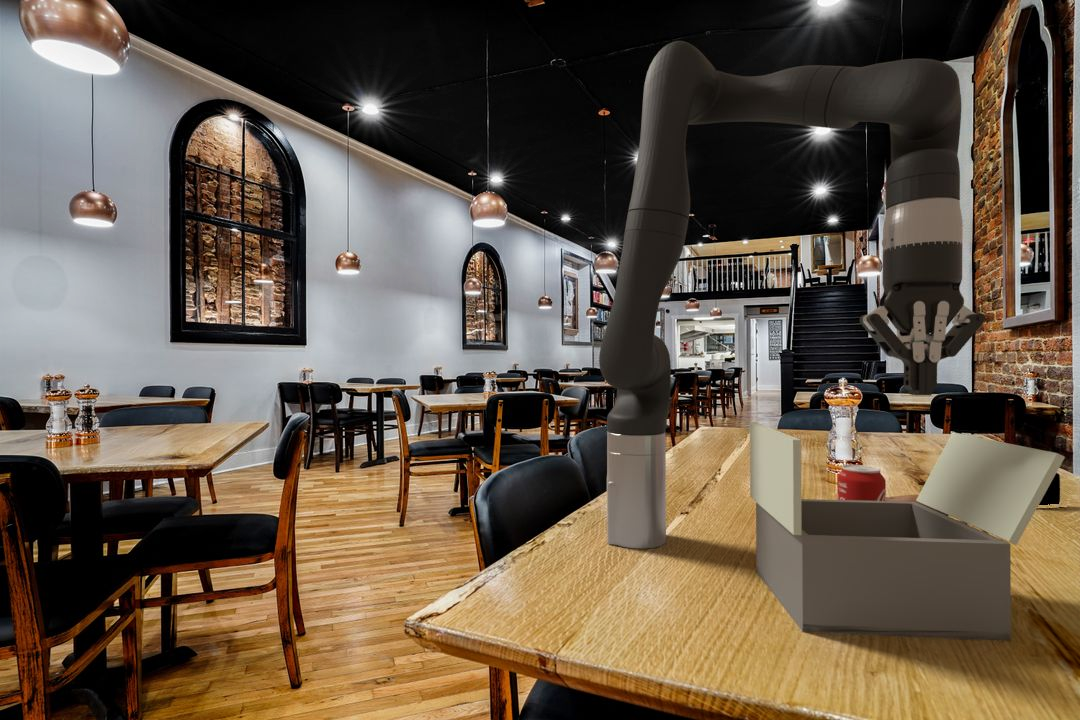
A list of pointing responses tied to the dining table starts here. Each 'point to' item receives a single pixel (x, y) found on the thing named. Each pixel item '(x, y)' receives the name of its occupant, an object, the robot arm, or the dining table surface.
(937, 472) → the flap
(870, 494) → the beverage can
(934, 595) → the carton
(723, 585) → the dining table surface
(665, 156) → the robot arm
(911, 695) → the dining table surface
